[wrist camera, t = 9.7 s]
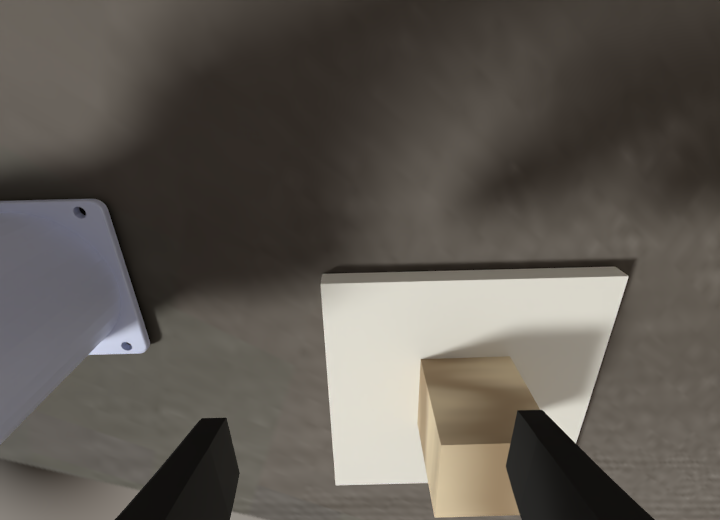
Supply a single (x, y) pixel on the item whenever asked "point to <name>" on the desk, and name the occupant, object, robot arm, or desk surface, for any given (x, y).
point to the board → (454, 350)
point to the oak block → (470, 432)
